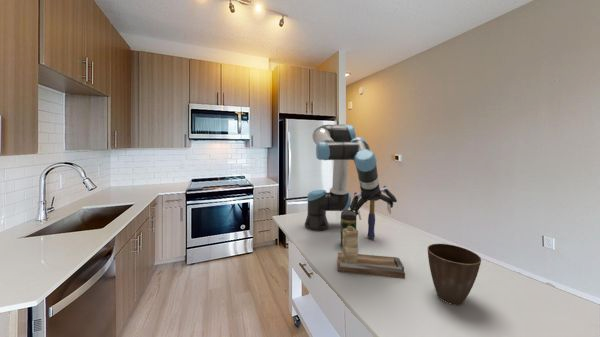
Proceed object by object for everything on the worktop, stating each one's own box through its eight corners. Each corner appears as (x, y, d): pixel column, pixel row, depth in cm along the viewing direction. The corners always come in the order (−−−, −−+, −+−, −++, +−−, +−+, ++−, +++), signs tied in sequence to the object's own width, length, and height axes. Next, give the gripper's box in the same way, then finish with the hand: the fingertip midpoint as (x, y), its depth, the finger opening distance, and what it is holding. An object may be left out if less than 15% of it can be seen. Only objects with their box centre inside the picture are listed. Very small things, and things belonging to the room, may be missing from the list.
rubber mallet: (380, 243, 120) (382, 187, 118) (366, 242, 121) (368, 187, 118) (375, 234, 133) (376, 183, 130) (362, 234, 133) (363, 183, 131)
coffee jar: (340, 241, 123) (340, 208, 121) (355, 242, 122) (356, 208, 120) (340, 249, 113) (341, 213, 112) (356, 250, 112) (357, 214, 110)
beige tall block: (342, 259, 99) (342, 226, 98) (352, 258, 100) (353, 225, 99) (346, 264, 95) (347, 229, 94) (357, 262, 96) (358, 228, 95)
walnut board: (337, 256, 106) (338, 249, 106) (396, 261, 102) (397, 254, 101) (337, 271, 93) (337, 263, 93) (404, 278, 89) (405, 269, 89)
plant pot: (420, 281, 87) (423, 241, 85) (466, 288, 82) (469, 246, 81) (431, 307, 72) (434, 260, 71) (486, 318, 68) (491, 267, 67)
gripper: (340, 197, 92) (349, 226, 105) (404, 182, 88) (405, 215, 101) (337, 184, 98) (346, 213, 111) (397, 170, 93) (399, 202, 106)
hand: (374, 214), depth 106 cm, fingers open, 13 cm apart
